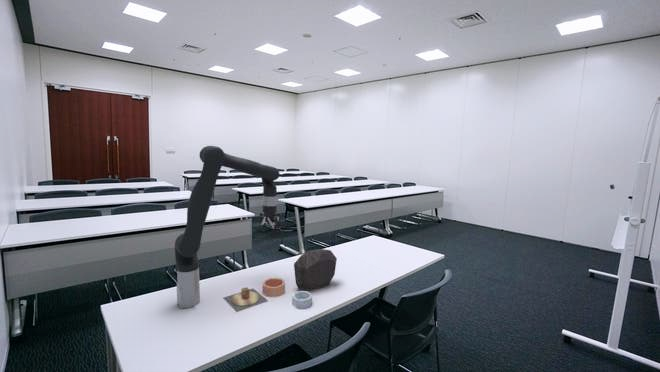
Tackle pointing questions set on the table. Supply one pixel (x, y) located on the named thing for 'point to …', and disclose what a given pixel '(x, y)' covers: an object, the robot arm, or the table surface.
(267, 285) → the bowl
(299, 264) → the decorative stone
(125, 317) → the table surface
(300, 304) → the small bowl
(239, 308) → the mat
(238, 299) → the lid
